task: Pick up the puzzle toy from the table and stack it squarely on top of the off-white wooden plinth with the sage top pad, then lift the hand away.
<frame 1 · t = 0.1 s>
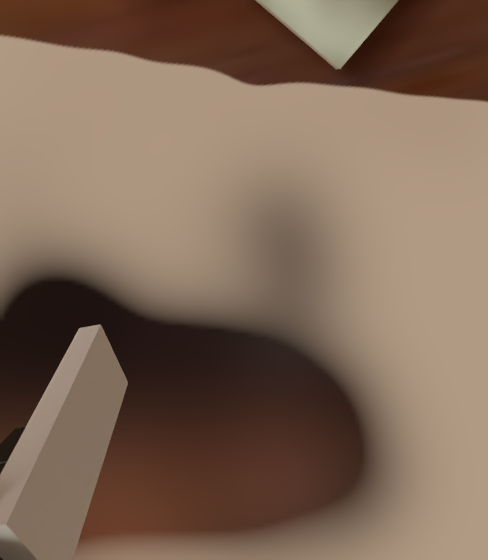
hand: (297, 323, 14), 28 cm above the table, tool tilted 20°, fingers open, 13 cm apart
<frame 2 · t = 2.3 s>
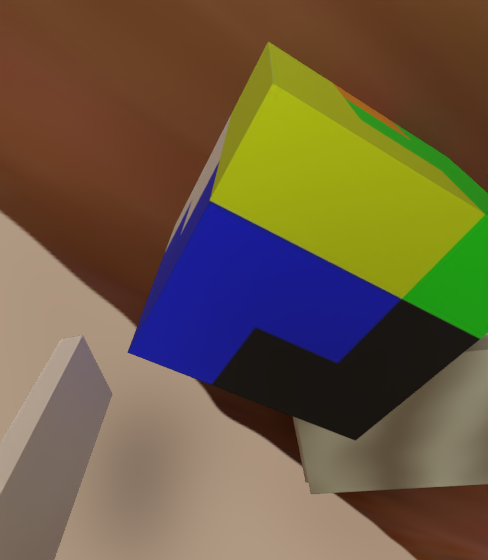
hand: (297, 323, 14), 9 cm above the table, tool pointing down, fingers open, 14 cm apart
plinth: (386, 368, 28), on the table
puzzle toy: (301, 189, 22), on the table, touching gripper, plinth
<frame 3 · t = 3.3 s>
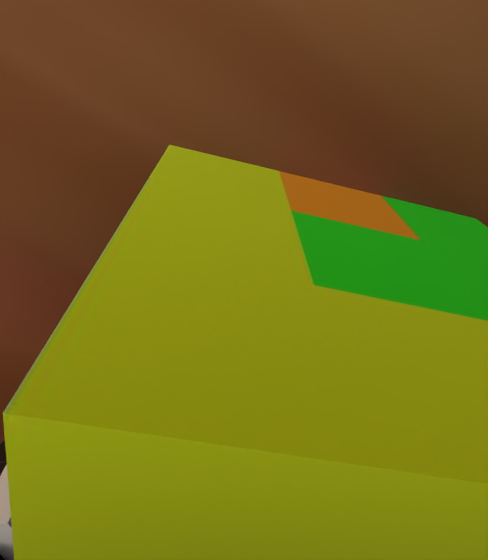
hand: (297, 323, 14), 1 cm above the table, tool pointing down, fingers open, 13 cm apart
puzzle toy: (283, 308, 15), on the table
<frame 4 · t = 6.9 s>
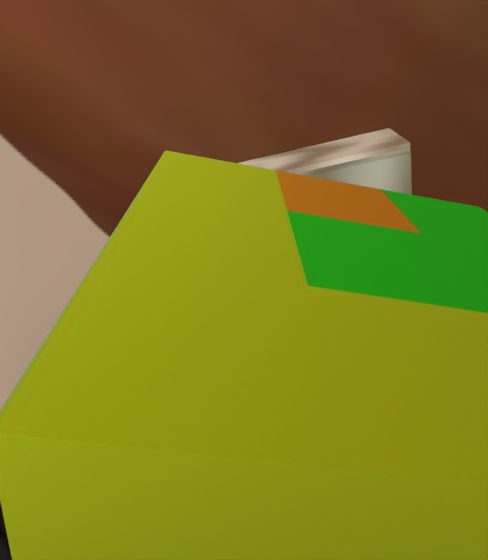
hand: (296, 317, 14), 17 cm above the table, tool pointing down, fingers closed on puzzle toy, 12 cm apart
plinth: (306, 235, 31), on the table
puzzle toy: (289, 308, 15), point 16 cm above the table, touching gripper
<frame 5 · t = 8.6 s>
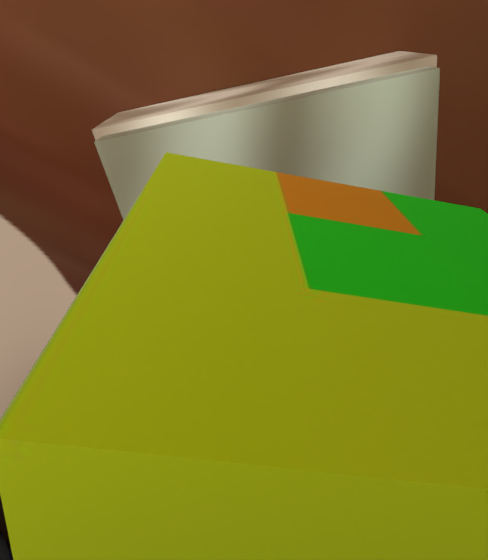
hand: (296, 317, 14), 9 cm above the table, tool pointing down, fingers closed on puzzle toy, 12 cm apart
plinth: (276, 214, 22), on the table
puzzle toy: (290, 310, 15), point 8 cm above the table, touching gripper
when the fingers open (7 cm above the table, at t = 10.0 s): puzzle toy drops 1 cm, resting on plinth.
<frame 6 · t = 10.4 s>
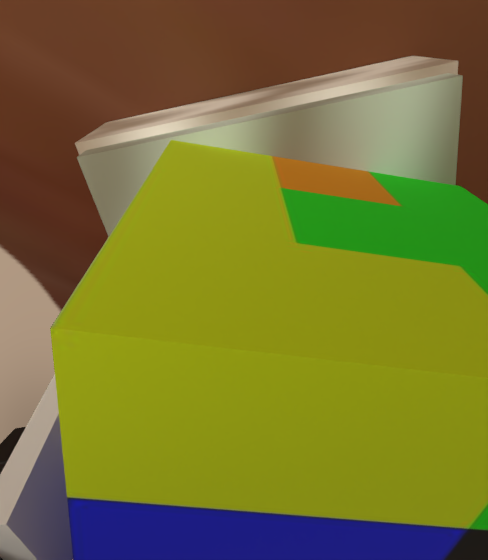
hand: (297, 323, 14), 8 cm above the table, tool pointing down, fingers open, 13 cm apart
plinth: (278, 230, 20), on the table
puzzle toy: (288, 286, 16), point 5 cm above the table, touching plinth
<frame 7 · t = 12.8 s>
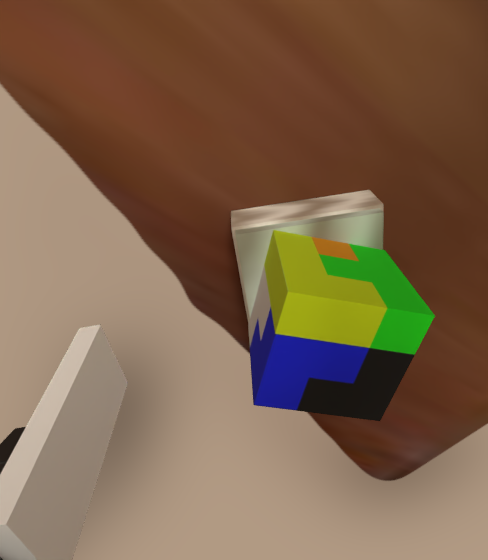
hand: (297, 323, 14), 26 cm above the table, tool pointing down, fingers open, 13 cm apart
plinth: (304, 261, 42), on the table
puzzle toy: (313, 288, 38), point 5 cm above the table, touching plinth
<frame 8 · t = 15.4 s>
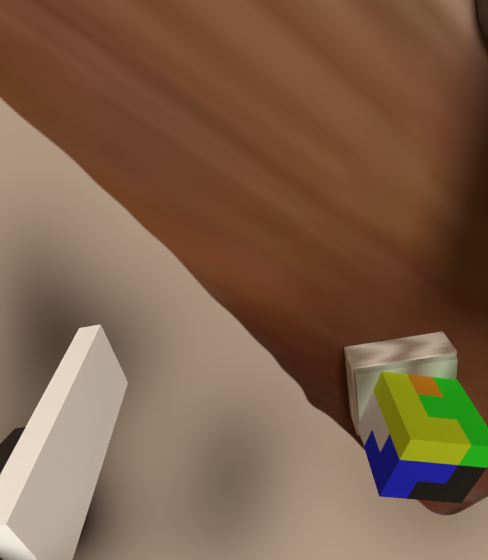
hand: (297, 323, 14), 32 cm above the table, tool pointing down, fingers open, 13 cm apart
plinth: (393, 374, 58), on the table
puzzle toy: (405, 402, 54), point 5 cm above the table, touching plinth
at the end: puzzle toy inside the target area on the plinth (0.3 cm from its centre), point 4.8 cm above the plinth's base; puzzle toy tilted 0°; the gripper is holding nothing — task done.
